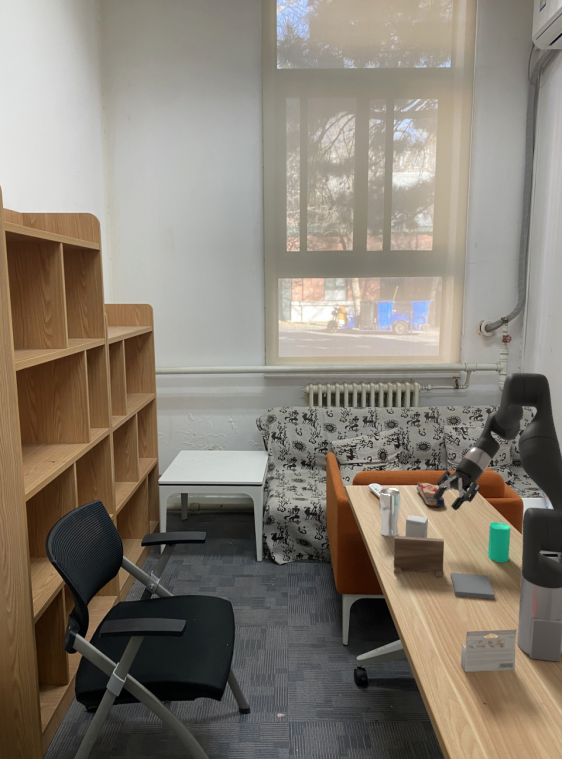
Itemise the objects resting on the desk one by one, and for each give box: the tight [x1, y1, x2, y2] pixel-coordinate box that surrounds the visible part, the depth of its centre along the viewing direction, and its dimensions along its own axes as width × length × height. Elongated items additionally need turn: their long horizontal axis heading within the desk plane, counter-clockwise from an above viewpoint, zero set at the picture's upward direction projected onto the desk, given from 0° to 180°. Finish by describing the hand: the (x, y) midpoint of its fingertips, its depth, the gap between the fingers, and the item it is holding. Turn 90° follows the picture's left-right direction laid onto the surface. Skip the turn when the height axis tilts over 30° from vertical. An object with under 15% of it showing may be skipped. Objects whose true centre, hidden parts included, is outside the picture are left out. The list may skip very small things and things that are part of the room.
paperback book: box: [416, 481, 445, 507], centre depth 210 cm, size 11×20×5 cm, turn 164°
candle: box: [487, 520, 511, 563], centre depth 161 cm, size 6×6×12 cm
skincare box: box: [405, 514, 429, 538], centre depth 164 cm, size 6×4×12 cm
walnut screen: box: [393, 535, 445, 578], centre depth 154 cm, size 6×14×10 cm, turn 79°
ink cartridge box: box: [460, 629, 518, 673], centre depth 113 cm, size 2×11×10 cm, turn 92°
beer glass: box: [379, 487, 401, 538], centre depth 179 cm, size 7×7×15 cm
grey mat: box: [450, 572, 495, 600], centre depth 146 cm, size 10×10×1 cm
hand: (444, 503), depth 167 cm, fingers open, 8 cm apart
